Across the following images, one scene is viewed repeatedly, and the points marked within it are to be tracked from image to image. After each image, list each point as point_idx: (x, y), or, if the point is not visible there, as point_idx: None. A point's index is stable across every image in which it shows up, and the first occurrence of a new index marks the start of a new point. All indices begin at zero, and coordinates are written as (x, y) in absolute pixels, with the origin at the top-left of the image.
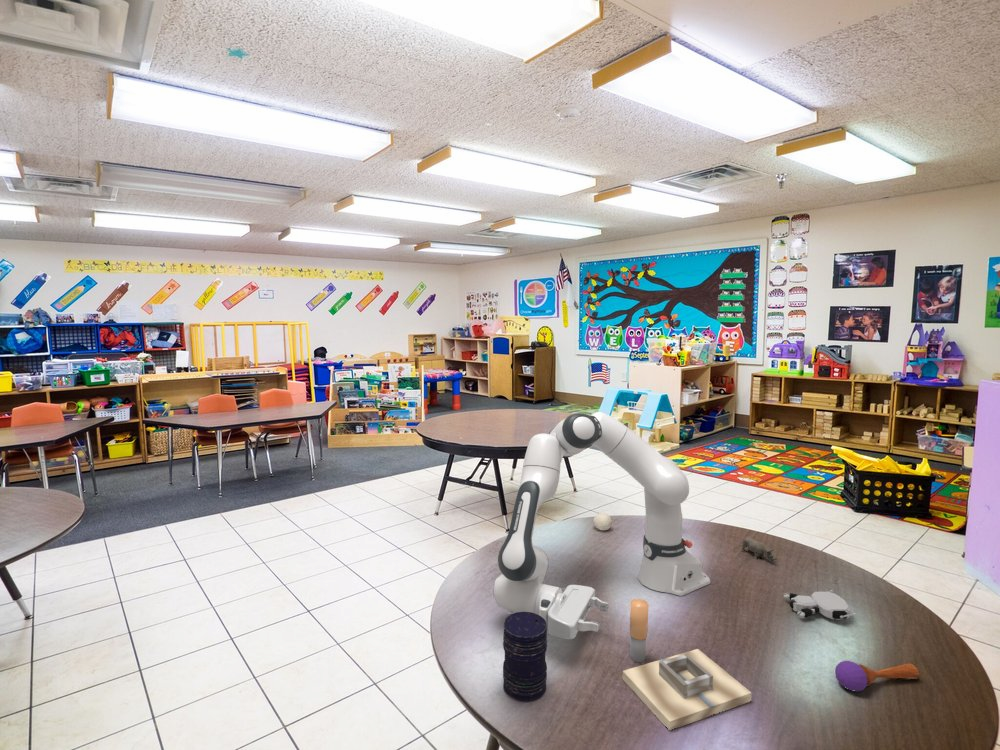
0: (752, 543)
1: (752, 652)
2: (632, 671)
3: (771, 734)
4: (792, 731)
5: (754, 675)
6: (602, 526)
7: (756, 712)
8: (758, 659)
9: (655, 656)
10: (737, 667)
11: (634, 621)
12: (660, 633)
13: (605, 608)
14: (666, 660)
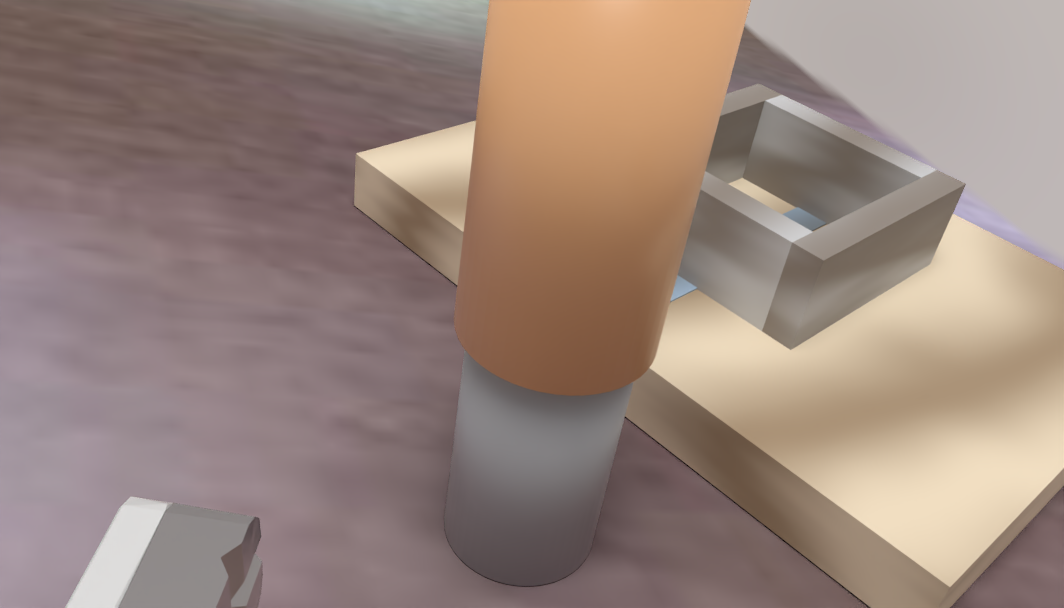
0: None
1: (241, 41)
2: (894, 508)
3: (822, 106)
4: (757, 66)
5: (445, 70)
6: None
7: None
8: (301, 39)
9: (444, 404)
10: (402, 99)
11: (702, 175)
12: (63, 353)
13: (239, 583)
14: (769, 224)
